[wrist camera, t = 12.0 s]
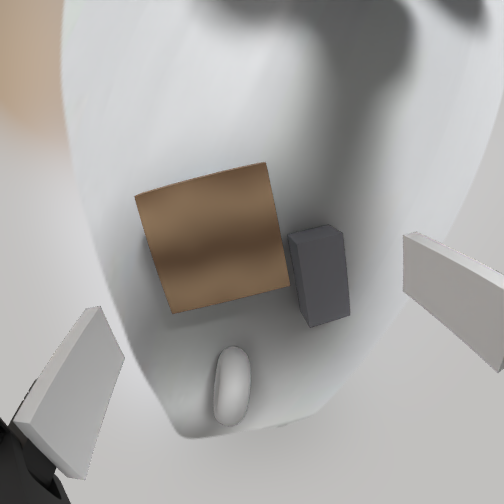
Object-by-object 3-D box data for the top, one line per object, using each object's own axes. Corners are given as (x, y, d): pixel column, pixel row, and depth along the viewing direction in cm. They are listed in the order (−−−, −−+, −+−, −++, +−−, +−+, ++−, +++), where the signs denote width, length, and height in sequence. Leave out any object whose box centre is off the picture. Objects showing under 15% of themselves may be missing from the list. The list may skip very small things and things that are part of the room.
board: (141, 193, 25) (134, 196, 22) (261, 162, 25) (265, 162, 23) (175, 302, 28) (172, 314, 26) (284, 275, 29) (290, 285, 26)
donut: (220, 329, 35) (224, 383, 26) (248, 332, 36) (259, 385, 26) (210, 386, 38) (212, 441, 29) (234, 388, 39) (241, 442, 29)
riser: (287, 234, 33) (296, 244, 29) (328, 224, 33) (342, 232, 29) (300, 311, 36) (309, 327, 32) (337, 300, 36) (350, 315, 32)
